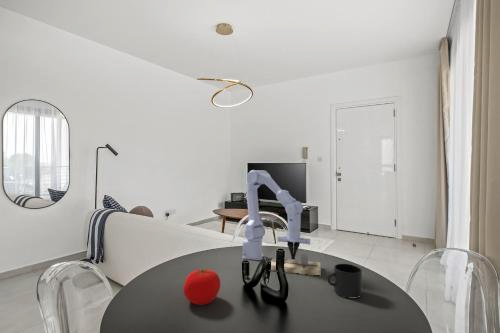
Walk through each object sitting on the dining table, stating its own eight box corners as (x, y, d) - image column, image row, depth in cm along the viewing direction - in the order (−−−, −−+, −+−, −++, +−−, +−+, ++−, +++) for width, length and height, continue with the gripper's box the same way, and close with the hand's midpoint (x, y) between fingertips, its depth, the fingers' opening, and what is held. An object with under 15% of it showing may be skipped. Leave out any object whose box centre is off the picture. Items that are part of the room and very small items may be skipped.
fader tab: (300, 265, 116) (301, 256, 116) (301, 261, 120) (301, 253, 120) (307, 265, 115) (308, 257, 115) (308, 262, 119) (308, 254, 119)
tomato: (176, 305, 85) (177, 273, 85) (198, 290, 96) (199, 261, 96) (206, 314, 80) (206, 279, 80) (225, 296, 91) (226, 266, 92)
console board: (268, 270, 116) (269, 264, 116) (272, 262, 126) (272, 257, 126) (320, 276, 111) (320, 270, 111) (320, 267, 120) (320, 262, 121)
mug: (324, 286, 101) (324, 263, 101) (355, 287, 101) (355, 263, 101) (331, 298, 92) (331, 272, 92) (365, 299, 91) (366, 273, 92)
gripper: (276, 229, 117) (276, 259, 116) (310, 231, 113) (309, 263, 113) (278, 225, 123) (278, 254, 123) (310, 228, 120) (309, 258, 120)
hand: (293, 258), depth 119 cm, fingers closed
